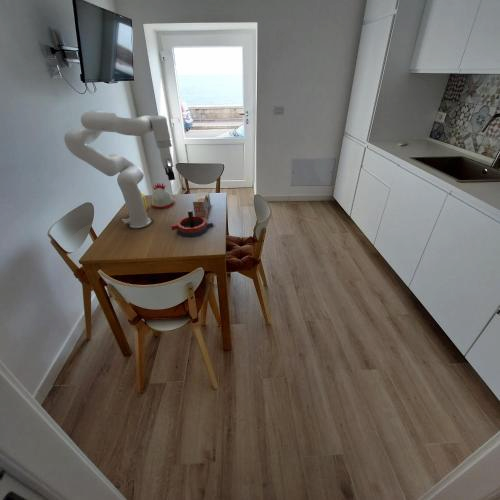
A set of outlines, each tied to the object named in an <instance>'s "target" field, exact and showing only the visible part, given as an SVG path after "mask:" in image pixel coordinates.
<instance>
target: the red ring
mask: <svg viewBox="0 0 500 500" xmlns="http://www.w3.org/2000/svg"><path fill="white" fill-rule="evenodd" d="M193 217H194V220H196V221H201V222H203V223H202V224H201V225H200V224H199V226H197V227H192V228H188V227H183V226H181V225H182V224H183V223H185V222H187V221H189V216H188V215H187V216H183V217H182V218H180V219H179V220H178V221H177V222H176V223H173V224H170V228H171V231H175V230H178V229H179V230H180V231H182V232H185V233H193V232H199V231H201V230H203V229H205V227H206V226H207V222H208V221H207V218H206V219H205V218H204V217H201V216H195V214H193ZM179 230H178V231H179Z"/></svg>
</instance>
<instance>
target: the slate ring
mask: <svg viewBox="0 0 500 500" xmlns="http://www.w3.org/2000/svg"><path fill="white" fill-rule="evenodd" d="M197 223H198V224H199V225H201V224H202V223H203V222H201V221H196V220H194V224H197ZM213 224H214V223H213V221H207V226H206V227H205V229H203V230H201V231H199V232H193V233H185V232H182V231H180V230H179V229H177V231H178V234H179V235H181V236H183V237H189V238H192V237H197V236H202V235H203V234H205V233H206V231H207V230H208V228H212V227H214V225H213ZM186 225H190V223H189V221H187V222H185V223H183V224H182V225H181V226H183V227H185V226H186Z"/></svg>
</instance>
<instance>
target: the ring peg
mask: <svg viewBox="0 0 500 500" xmlns="http://www.w3.org/2000/svg"><path fill="white" fill-rule="evenodd" d="M193 215H194V210H193V209H188V210H187V216H189V223H190V225H186V226H185V227H188V228H192V227H197V226H199V225H200V224H198V223H197V224H194V217H193Z"/></svg>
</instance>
